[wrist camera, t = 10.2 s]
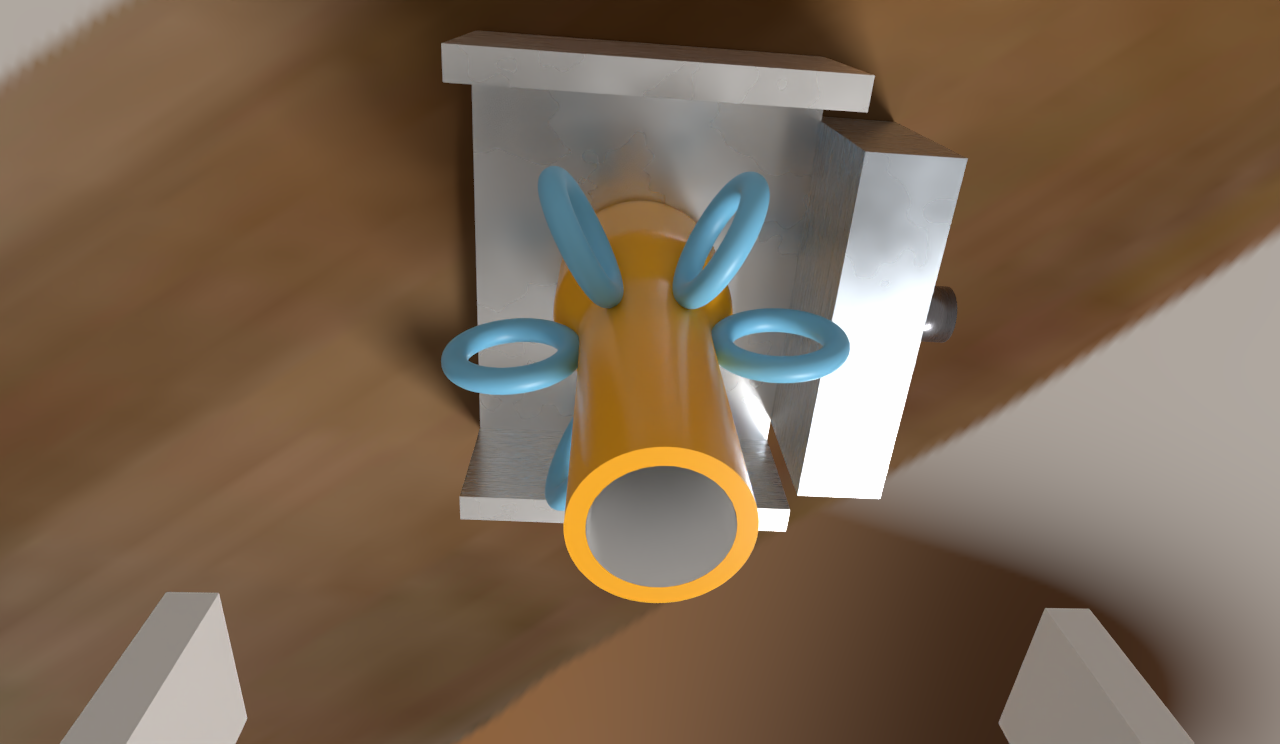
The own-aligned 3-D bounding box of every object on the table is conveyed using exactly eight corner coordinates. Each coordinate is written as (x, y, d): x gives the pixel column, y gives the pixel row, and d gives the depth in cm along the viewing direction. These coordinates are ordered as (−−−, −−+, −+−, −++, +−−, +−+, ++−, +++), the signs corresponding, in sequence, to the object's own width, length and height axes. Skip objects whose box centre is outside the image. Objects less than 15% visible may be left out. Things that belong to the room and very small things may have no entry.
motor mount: (484, 433, 33) (458, 527, 28) (476, 30, 26) (437, 44, 21) (869, 450, 35) (921, 545, 29) (962, 66, 27) (1056, 90, 22)
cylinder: (597, 49, 26) (579, 128, 12) (846, 206, 28) (1056, 413, 15) (443, 340, 30) (308, 629, 17) (670, 451, 33) (709, 778, 19)
